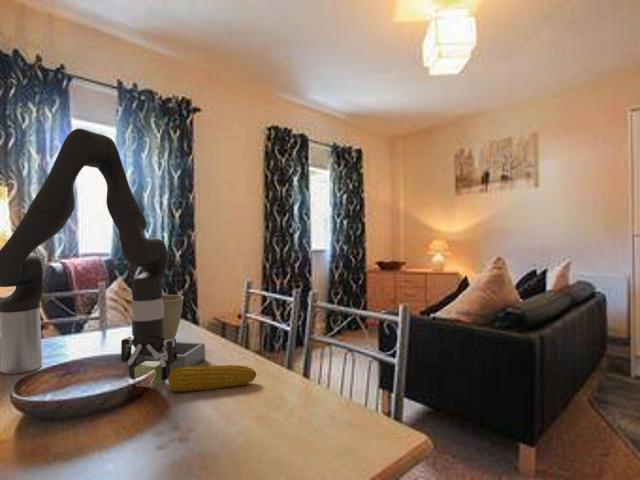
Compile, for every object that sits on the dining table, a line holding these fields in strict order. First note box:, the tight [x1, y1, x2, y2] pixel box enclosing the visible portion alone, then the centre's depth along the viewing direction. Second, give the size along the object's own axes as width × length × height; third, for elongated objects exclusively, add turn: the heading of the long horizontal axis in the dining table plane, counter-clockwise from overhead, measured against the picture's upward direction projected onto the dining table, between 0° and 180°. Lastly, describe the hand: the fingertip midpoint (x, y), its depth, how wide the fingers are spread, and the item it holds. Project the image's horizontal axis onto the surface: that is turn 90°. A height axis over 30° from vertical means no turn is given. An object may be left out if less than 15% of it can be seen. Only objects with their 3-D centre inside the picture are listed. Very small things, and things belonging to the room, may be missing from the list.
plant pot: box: [162, 294, 184, 340], centre depth 135 cm, size 15×15×16 cm
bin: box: [143, 341, 206, 372], centre depth 114 cm, size 12×12×5 cm
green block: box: [134, 361, 164, 389], centre depth 101 cm, size 5×5×5 cm
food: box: [167, 364, 257, 392], centre depth 98 cm, size 21×6×6 cm, turn 105°
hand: (149, 378), depth 101 cm, fingers open, 8 cm apart
